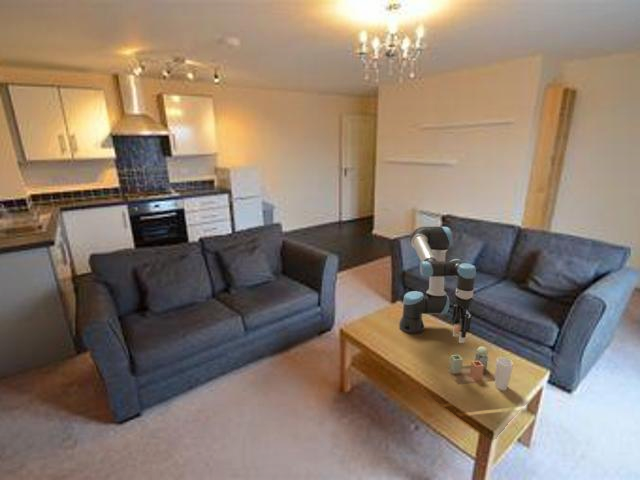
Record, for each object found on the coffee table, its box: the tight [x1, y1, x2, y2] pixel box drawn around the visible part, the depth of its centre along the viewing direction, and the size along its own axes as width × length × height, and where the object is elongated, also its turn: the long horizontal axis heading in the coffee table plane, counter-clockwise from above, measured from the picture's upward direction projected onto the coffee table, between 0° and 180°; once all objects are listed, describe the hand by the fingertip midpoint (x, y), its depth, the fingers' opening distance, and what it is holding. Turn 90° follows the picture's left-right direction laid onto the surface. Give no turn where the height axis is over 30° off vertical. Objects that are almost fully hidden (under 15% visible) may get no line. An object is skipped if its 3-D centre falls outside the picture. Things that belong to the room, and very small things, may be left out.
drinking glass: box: [494, 356, 514, 391], centre depth 157 cm, size 7×7×15 cm
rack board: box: [445, 364, 495, 385], centre depth 168 cm, size 12×20×1 cm, turn 97°
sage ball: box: [476, 346, 489, 357], centre depth 169 cm, size 5×5×5 cm
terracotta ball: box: [453, 323, 461, 335], centre depth 164 cm, size 5×5×5 cm
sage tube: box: [449, 354, 464, 374], centre depth 169 cm, size 4×4×8 cm
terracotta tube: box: [470, 360, 484, 381], centre depth 164 cm, size 4×4×8 cm
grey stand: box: [474, 352, 489, 371], centre depth 170 cm, size 4×4×8 cm
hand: (458, 338), depth 165 cm, fingers closed on terracotta ball, 5 cm apart
